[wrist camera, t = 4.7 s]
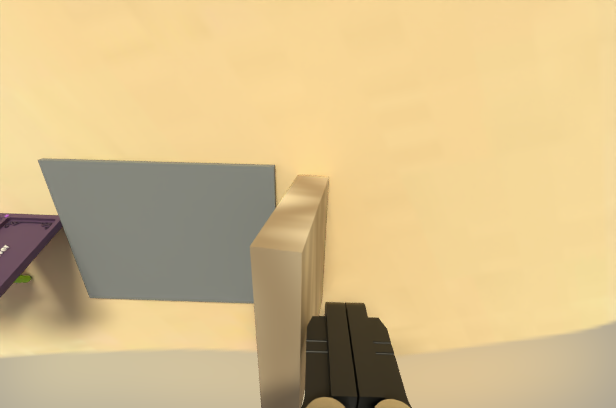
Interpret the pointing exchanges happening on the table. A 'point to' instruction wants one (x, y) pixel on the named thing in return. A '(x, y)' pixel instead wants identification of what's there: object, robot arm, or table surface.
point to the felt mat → (162, 226)
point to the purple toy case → (22, 244)
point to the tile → (288, 288)
